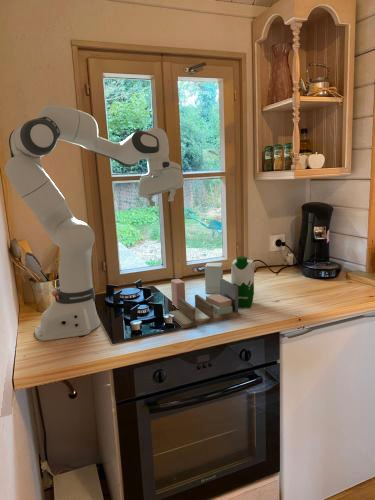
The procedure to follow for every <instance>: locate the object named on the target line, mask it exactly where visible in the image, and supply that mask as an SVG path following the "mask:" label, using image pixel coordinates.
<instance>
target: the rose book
mask: <svg viewBox="0 0 375 500" xmlns="http://www.w3.org/2000/svg"><path fill="white" fill-rule="evenodd" d="M185 285H186V283H185V281H183V280H181V279H180V278H174V279H171V280H170V287H171V288H170V289H171V306H172V305H174V306H175V307H176V308H177V309H178V298H179V297H181V298H182V299H183V300H185V301H186V289H185V288H186V286H185ZM177 309H176V310H177Z"/></svg>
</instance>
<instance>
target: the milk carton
mask: <svg viewBox="0 0 375 500" xmlns="http://www.w3.org/2000/svg"><path fill="white" fill-rule="evenodd" d="M230 266H231V267H230V269H231V272H230V273H231V276H230V281H231V282H230V283H232V284H234V285H236V286H238V309H239V308H242V309H251V307H252V305H253V302H254V301H253V300H254V294H255V272H254V271H255V267H254V260H253V259H248V257H247V256H238V257H236V259H233V261H232V262H231V265H230Z"/></svg>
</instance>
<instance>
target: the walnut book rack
mask: <svg viewBox="0 0 375 500" xmlns="http://www.w3.org/2000/svg"><path fill="white" fill-rule="evenodd" d="M178 309H179V310H177V309H175V310H173V311H168V315H169V314H172V315H174V319H175V321H176V322H177V323H178V324H179V325H180V326H181V327H180V326H179V325H178V324H177V323H176V322H175V323H176V324H177V325H178V326H179V327H180V328H181V329H187V328H191V327H197V326H202V325H207V324H212V323H218V322H222V321H227V320H231V319H233V320H234V319H236V318H241V313H240V312H239V311H238V313H235V312H233V311H232V313H227V314H222V315H217V314H215V313H214V312H213V305H212V304H211V303H209V302H208V301H206V298H205V299H204V298H203V297H201V296H200V295H199V294H194V306H193V305H191V304H190V303H189V302H187V301H186V299H185V300H183V299H182V298H181V297H179V298H178Z"/></svg>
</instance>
